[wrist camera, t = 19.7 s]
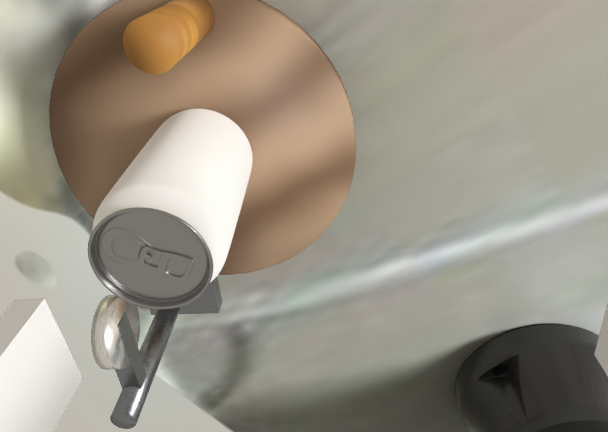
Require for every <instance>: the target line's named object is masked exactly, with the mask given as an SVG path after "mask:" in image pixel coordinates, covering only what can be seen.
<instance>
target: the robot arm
mask: <svg viewBox="0 0 608 432" xmlns="http://www.w3.org/2000/svg"><path fill="white" fill-rule="evenodd" d="M81 380H82V376H81V373H80V371H79V369H78V367H77V365H76V363H75V361H74V359H73V357H72V355H71V353H70V350H69V348H68V346H67V344H66V342H65V340H64V338H63V336H62V334H61V332H60V330H59V327H58V326H57V323H56V321H55V319H54V317H53V315H52V313H51V311H50V309H49V307H48V304H47V302H46V300H45V298H42V299H26V300H14V302H13V303H12V304H11V305H10V306H9V308H8V309H7V310H6V311H5V312H4V314H3V315H2V316H1V317H0V432H54V430H55V428H56V426H57V424H58V423H59V421H60V419H61V417H62V415H63V413H64V412H65V410H66V408H67V406H68V404H69V402H70V401H71V399H72V397H73V395H74V393H75V391H76V389H77V388H78V386H79V384H80V382H81ZM455 392H456V397H457V401H458V405H459V408H460V412H461V415H462V418H463V420H464V422H465V424H466V426H467V427H468V429H469V430H470V432H608V303H607V307H606V311H605V315H604V318H603V322H602V326H601V330H600V334H599V336H598V335H596V334H594V333H592V332H590V331H588V330H585V329H582V328H578V327H574V326H568V325H557V324H548V325H536V326H530V327H525V328H521V329H517V330H514V331H511V332H508V333H505V334H503V335H501V336H498V337H496V338H494V339H492V340H491V341H489V342H487V343H486V344H484V345H483V346H481V347H480V348H479V349H477V350H476V351H475V352H474V353H473V354H472V355H471V356H470V357H469V358H468V359H467V360H466V362H465V363H464V364H463V366H462V368H461V369H460V371H459V374H458V376H457V379H456V385H455Z"/></svg>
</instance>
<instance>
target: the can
mask: <svg viewBox="0 0 608 432" xmlns="http://www.w3.org/2000/svg"><path fill="white" fill-rule="evenodd" d="M252 161H253V158H252V150H251V146H250V143H249V141H248V139H247V137H246V135H245V134H244V132H243V131H242V130H241V129H240V127H239V126H238V125H237V124H236V123H234V122H233V121H232V120H231V119H229V118H228V117H226V116H224V115H222V114H220V113H218V112H215V111H212V110H207V109H188V110H184V111H181V112H178V113H176V114H174V115H172V116H171V117H170V118H168V119H167V120H166V121H165V122H164V123H163V124H162V125H161V126H160V127H159V128H158V129H157V131H156V132H155V133H154V134H153V136H152V137H151V138H150V140H149V141H148V142H147V143H146V145H145V146H144V147H143V149H142V150H141V151H140V152H139V154H138V155H137V156H136V158H135V159H134V160H133V162H132V163H131V164H130V165H129V167H128V168H127V169H126V171H125V172H124V173H123V175H122V176H121V177H120V178H119V180H118V181H117V182H116V184H115V185H114V186H113V188H112V189H111V190H110V192H109V193H108V194H107V196H106V197H105V199H104V200H103V201H102V203H101V205H100V206H99V208H98V210H97V212H96V214H95V217H94V221H93V229H92V233H91V236H90V239H89V243H88V256H89V261H90V264H91V267H92V269H93V271H94V273H95V275H96V276H97V278H98V279H99V280H100V281H101V283H102V284H103V285H104V286H105V287H106V288H107V289H109V290H110V291H111V292H112V293H114V294H115V295H116V296H118V297H120V298H121V299H123V300H125V301H127V302H129V303H132V304H135V305H138V306H141V307H145V308H151V309H172V308H177V307H181V306H184V305H187V304H189V303H191V302H193V301H194V300H196V299H197V298H198V297H200V296H201V295H202V294H203V293H204V292H205V290H206V289H207V287H208V286H209V284H210V282H212V281H213V280H214V279H215V278H216V277H217V275H218V274H219V273H220V271H221V269H222V267H223V265H224V263H225V261H226V258H227V255H228V252H229V249H230V245H231V242H232V238H233V235H234V231H235V228H236V224H237V221H238V217H239V214H240V210H241V207H242V203H243V199H244V196H245V192H246V189H247V185H248V181H249V177H250V173H251V169H252Z"/></svg>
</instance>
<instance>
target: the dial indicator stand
mask: <svg viewBox="0 0 608 432" xmlns="http://www.w3.org/2000/svg"><path fill="white" fill-rule="evenodd" d="M221 303H222V300H221V295H220V290H219V285H218V280H217V277H216V278H215V279H214V280H213V281H212V282H210V284H209V286H208V287H207V289H206V290H205V292H204V293H203V294H202V295H201V296H200V297H198V298H197V299H196V300H194V301H193V302H191V303H189V304H187V305H184V306H181V307H177V308H172V309H151V308H150V312H151V315H155V317H154V319H153V321H152V324H151V326H150V328H149V330H148V333H147V335H146V337H145V339H144V342H143V344H142V346H141V349H140V351H139V350H138V347H137V346H138V341H139V333H140V321H139V313H138V309H137V305H135V304H132V303H129V302H127V301H125V300H123V299H121V298H120V297H118V296H116V295H109V296H106V297H105V298H103V299H102V301H101V302H100V303H99V305H98V307H97V309H96V312H95V315H94V319H93V324H92V330H91V331H92V332H91V344H92V352H93V356H94V359H95V361H96V363H97V364H98V366H99V367H100V368H102V369H115V370H116V373H117V375H118V378H119V381H120V383H121V386H122V389H123V390H122V392H121V394H120V397H119V399H118V401H117V403H116V406H115V408H114V410H113V413H112V415H111V422H112V423H113V424H114V425H116V426H118V427H120V428H124V429H129V428H132V427H134V426H135V425H136V423H137V421H138V418H139V415H140V412H141V410H142V407H143V405H144V402H145V399H146V397H147V394H148V392H149V389H150V386H151V384H152V381H153V378H154V376H155V373H156V371H157V368H158V365H159V363H160V360H161V357H162V355H163V352H164V350H165V347H166V344H167V342H168V339H169V336H170V334H171V331H172V329H173V326H174V323H175V321H176V318H177V315H178V314H200V313H219V310H220V307H221Z"/></svg>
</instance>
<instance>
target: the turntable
mask: <svg viewBox="0 0 608 432" xmlns="http://www.w3.org/2000/svg"><path fill="white" fill-rule="evenodd" d="M188 109H207V110H212V111H215V112H218V113H220V114H222V115H224V116H226V117H228V118H229V119H231V120H232V121H233V122H234V123H236V124H237V125H238V126H239V127H240V129H241V130H242V131H243V132H244V134H245V135H246V137H247V139H248V141H249V143H250V146H251V150H252V158H253V161H252V169H251V173H250V177H249V181H248V185H247V189H246V192H245V196H244V199H243V203H242V207H241V210H240V214H239V217H238V221H237V224H236V228H235V231H234V235H233V238H232V242H231V245H230V249H229V252H228V255H227V258H226V261H225V263H224V265H223V267H222V269H221V271H220V273H219V274H218V275H231V274H240V273H248V272H252V271H257V270H261V269H265V268H268V267H270V266H273V265H276V264H279V263H281V262H283V261H285V260H287V259H289V258H291V257H293V256H295V255H296V254H298V253H299V252H301V251H302V250H304V249H305V248H307V247H308V246H309V245H310V244H312V243H313V242H314V241H315V240H316V239H317V238H319V237H320V235H321V234H322V233H323V232H324V231H325V230H326V229H327V228H328V227H329V225H330V224H331V223H332V221H333V220H334V218H335V217H336V215H337V214H338V212H339V211H340V209H341V207H342V205H343V203H344V201H345V199H346V197H347V194H348V191H349V188H350V185H351V181H352V178H353V172H354V166H355V155H356V140H355V131H354V122H353V115H352V111H351V107H350V103H349V99H348V96H347V93H346V91H345V89H344V86H343V84H342V81H341V79H340V77H339V75H338V73H337V71H336V70H335V68H334V66H333V64H332V63H331V61H330V59H329V58H328V57H327V55H326V54H325V53H324V52H323V50H322V49H321V48H320V46H319V45H318V44H317V42H316V41H315V40H314V39H313V38H312V37H311V36H310V35H309V34H308V33H307V32H306V31H305V30H304V29H303V28H302V27H301V26H299V25H298V24H297V23H295V22H294V21H293V20H292V19H290V18H289V17H288V16H286V15H285V14H284V13H282V12H280V11H279V10H277V9H275V8H274V7H272V6H270V5H268V4H267V3H265V2H263V1H261V0H122V1H120V2H119V3H117V4H115V5H113V6H111V7H109V8H107V9H106V10H104V11H103V12H102V13H100V14H99V15H98V16H96V17H95V18H94V19H92V20H91V21H90V22H89V23H88V24H87V25H86V26H85V27H84V28H83V29H82V30H81V31H80V32H79V34H78V35H77V36H76V37H75V38H74V40H73V41H72V43H71V44H70V46H69V47H68V49H67V50H66V52H65V54H64V56H63V58H62V60H61V62H60V65H59V67H58V69H57V71H56V75H55V79H54V82H53V86H52V90H51V99H50V108H49V110H50V130H51V136H52V142H53V147H54V150H55V153H56V157H57V160H58V163H59V166H60V168H61V170H62V172H63V175H64V177H65V179H66V181H67V183H68V185H69V186H70V188H71V190H72V191H73V193H74V195H75V196H76V198H77V199H78V200H79V202H80V203H81V204H82V206H83V207H84V208H85V210H86V211H87V212H88V213H89V214H90V215H91V216H92V217H93V219H94V217H95V214H96V212H97V210H98V208H99V206H100V205H101V203H102V201H103V200H104V199H105V197H106V196H107V194H108V193H109V192H110V190H111V189H112V188H113V186H114V185H115V184H116V182H117V181H118V180H119V178H120V177H121V176H122V175H123V173H124V172H125V171H126V169H127V168H128V167H129V165H130V164H131V163H132V162H133V160H134V159H135V158H136V156H137V155H138V154H139V152H140V151H141V150H142V149H143V147H144V146H145V145H146V143H147V142H148V141H149V140H150V138H151V137H152V136H153V134H154V133H155V132H156V131H157V129H158V128H159V127H160V126H161V125H162V124H163V123H164V122H165V121H166V120H167V119H168V118H170V117H171V116H172V115H174V114H176V113H178V112H181V111H184V110H188Z"/></svg>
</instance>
